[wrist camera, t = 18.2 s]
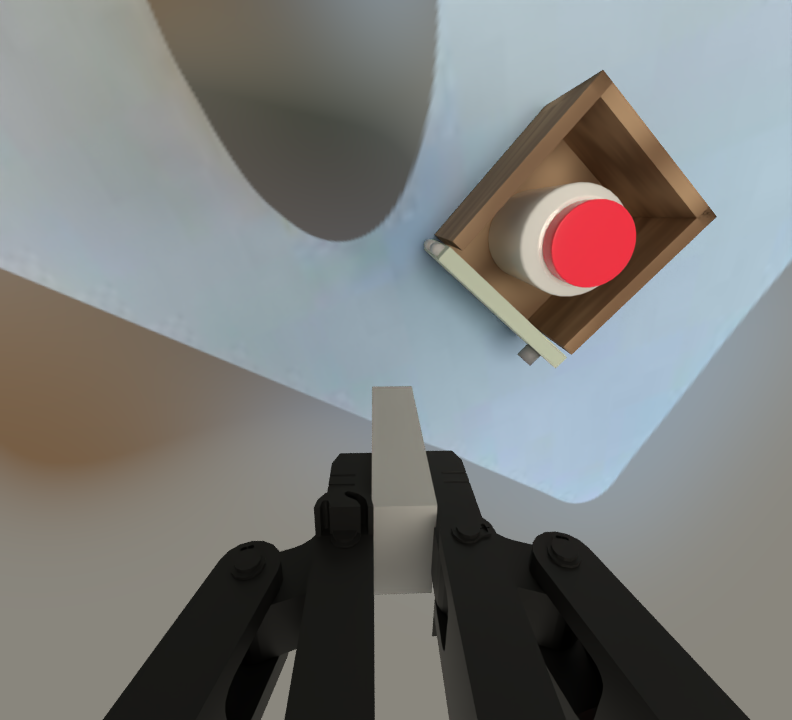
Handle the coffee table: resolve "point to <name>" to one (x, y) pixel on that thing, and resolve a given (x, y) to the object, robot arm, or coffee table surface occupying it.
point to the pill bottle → (563, 237)
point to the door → (496, 304)
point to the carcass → (596, 163)
